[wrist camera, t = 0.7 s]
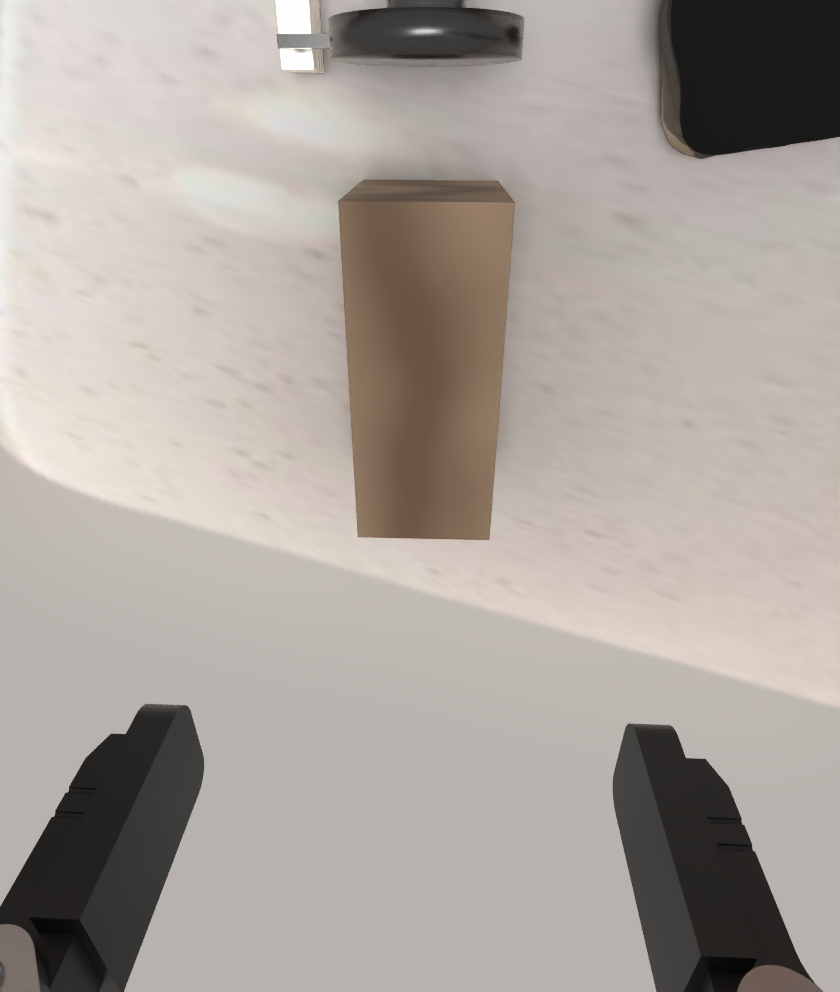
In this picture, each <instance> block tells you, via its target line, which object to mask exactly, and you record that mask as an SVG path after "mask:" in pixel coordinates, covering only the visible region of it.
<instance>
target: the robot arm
mask: <svg viewBox="0 0 840 992" xmlns="http://www.w3.org/2000/svg"><path fill="white" fill-rule="evenodd" d="M203 771H204V757H203V753H202V749H201V746H200V743H199V739H198V735H197V732H196V728H195V725H194V721H193V718H192V714H191V711H190V709H189V707H188V706H185V705H162V704H145V705H144V706H142V707H141V708H140V710H139V711H138V713H137V714H136V716H135V718H134V720H133V722H132V724H131V726H130V728H129V729H128V731H127V733H126V734H110V735H109V736H108V737H107V738H106V739H105V740H104V741H103V742H102V743H101V744H100V745H99V746H98V747H97V748H96V749H95V750H94V751H93V752H92V753H91V754H89V756H87V757H86V759H85V760H84V762H83V764H82V765H81V767H80V769H79V771H78V772H77V774H76V776H75V778H74V779H73V781H72V783H71V785H70V786H69V792H68V793H65V795H64V797H63V799H62V800H61V802H60V804H59V805H58V807H57V809H56V811H55V812H56V813H55V816H54V817H52V818H51V819H50V821H49V823H48V825H47V826H46V828H45V830H44V831H43V833H42V835H41V837H40V838H39V840H38V842H37V844H36V845H35V847H34V849H33V851H32V852H31V854H30V856H29V858H28V859H27V861H26V863H25V865H24V866H23V868H22V870H21V872H20V873H19V875H18V877H17V878H16V880H15V882H14V884H13V885H12V887H11V889H10V891H9V893H8V894H7V896H6V898H5V899H4V901H3V903H2V905H1V906H0V992H124V990H125V987H126V984H127V981H128V979H129V976H130V974H131V971H132V968H133V966H134V963H135V960H136V958H137V955H138V952H139V950H140V947H141V945H142V942H143V939H144V937H145V934H146V931H147V929H148V926H149V923H150V921H151V918H152V916H153V913H154V910H155V907H156V905H157V902H158V900H159V897H160V894H161V892H162V889H163V886H164V884H165V881H166V879H167V876H168V873H169V871H170V868H171V865H172V863H173V860H174V857H175V855H176V852H177V849H178V847H179V844H180V841H181V839H182V836H183V834H184V831H185V828H186V826H187V823H188V820H189V818H190V815H191V812H192V810H193V807H194V805H195V802H196V799H197V797H198V794H199V791H200V788H201V784H202V779H203ZM613 800H614V807H615V813H616V817H617V821H618V826H619V830H620V834H621V839H622V843H623V847H624V852H625V856H626V861H627V865H628V869H629V873H630V877H631V882H632V886H633V891H634V895H635V900H636V904H637V909H638V912H639V917H640V921H641V926H642V930H643V935H644V939H645V943H646V948H647V952H648V956H649V961H650V965H651V970H652V974H653V978H654V982H655V987H656V991H657V992H823V991H822V990H821V989H820V988H819V987H818V986H817V985H816V984H815V983H814V981H813V980H812V979H811V978H810V976H809V975H808V973H807V972H806V970H805V968H804V967H803V965H802V964H801V962H800V960H799V958H798V955H797V954H796V951H795V949H794V946H793V944H792V941H791V939H790V937H789V934H788V932H787V929H786V927H785V924H784V922H783V919H782V917H781V914H780V912H779V909H778V907H777V905H776V902H775V900H774V897H773V895H772V892H771V890H770V887H769V885H768V882H767V880H766V877H765V875H764V873H763V870H762V868H761V865H760V863H759V860H758V858H757V856H756V853H755V852H753V850H752V843H751V841H750V838H749V836H748V833H747V831H746V828H745V826H744V825H742V822H741V816H740V814H739V811H738V809H737V806H736V804H735V801H734V799H733V796H732V794H731V791H730V789H729V787H728V786H727V784H726V783H725V782H724V781H723V779H722V778H721V777H720V776H719V775H718V774H717V772H716V771H715V770H714V769H713V768H712V766H711V765H710V764H709V763H708V762H707V761H706V759H692V758H691V759H690V758H686V757H685V755H684V752H683V749H682V746H681V743H680V741H679V738H678V735H677V733H676V731H675V729H674V728H673V727H672V726H670V725H651V724H628V725H627V726H626V729H625V732H624V736H623V740H622V743H621V748H620V752H619V755H618V759H617V763H616V767H615V771H614V776H613Z"/></svg>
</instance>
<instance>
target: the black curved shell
mask: <svg viewBox="0 0 840 992" xmlns="http://www.w3.org/2000/svg"><path fill="white" fill-rule="evenodd" d="M660 51H661V64H662V83H661V121H662V125H663V128H664V131H665V134H666V137H667V140H668V141H669V143H670V144H671V145H672V147H673V148H675V149H676V150H678V151H679V152H681V153H683V154H686V155H690V156H693V157H696V158H700V159H703V158H707V157H711V156H715V155H722V154H730V153H737V152H743V151H750V150H756V149H764V148H772V147H780V146H786V145H789V144H795V143H803V142H810V141H817V140H824V139H829V138H835V137H840V0H663V1H662V7H661V14H660Z"/></svg>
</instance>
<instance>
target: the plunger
mask: <svg viewBox="0 0 840 992" xmlns="http://www.w3.org/2000/svg"><path fill="white" fill-rule="evenodd" d="M523 30H524V18H523V17H522V16H520V15H517V14H514V13H510V12H504V11H497V10H488V9H477V8H466V0H387V8H381V9H369V10H359V11H352V12H346V13H341V14H337V15H334V16H332V17H330V18H329V34H277V42H278V48H279V49H282V50H284V51H287V52H299V49H330V50H331V60H332V61H335V62H340V63H348V64H361V65H381V66H465V65H486V64H500V63H509V62H516V61H519V60H521V59H522V45H523Z"/></svg>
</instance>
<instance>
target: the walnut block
mask: <svg viewBox="0 0 840 992" xmlns="http://www.w3.org/2000/svg"><path fill="white" fill-rule="evenodd" d="M338 204H339V221H340V238H341V255H342V272H343V290H344V307H345V324H346V341H347V358H348V375H349V392H350V410H351V427H352V444H353V461H354V478H355V495H356V512H357V529H358V537H375V538H420V539H465V540H489V538H490V524H491V511H492V498H493V485H494V471H495V458H496V445H497V432H498V419H499V405H500V392H501V379H502V366H503V353H504V339H505V326H506V313H507V300H508V287H509V273H510V260H511V247H512V234H513V221H514V207H515V202H514V201H513V200H512V198H511V197H510V196H509V195H508V193H507V192H506V191H505V189H504V188H503V187H502V186H501V184H500V183H499V182H498V181H436V180H363V181H362V182H361V183H359V184H358V185H357V186H356V187H355V188H353V189H352V190H351V191H350V192H349V193H347V194H346V195H345V196H344V197H343V198H341V199H340V200H339V201H338Z"/></svg>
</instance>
